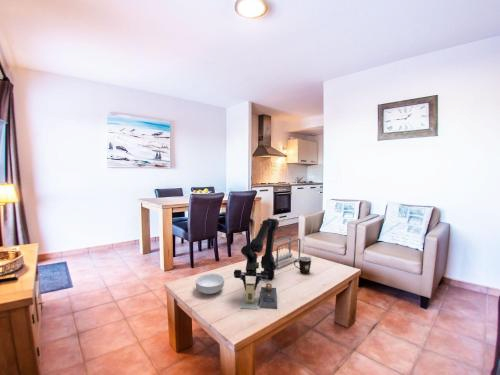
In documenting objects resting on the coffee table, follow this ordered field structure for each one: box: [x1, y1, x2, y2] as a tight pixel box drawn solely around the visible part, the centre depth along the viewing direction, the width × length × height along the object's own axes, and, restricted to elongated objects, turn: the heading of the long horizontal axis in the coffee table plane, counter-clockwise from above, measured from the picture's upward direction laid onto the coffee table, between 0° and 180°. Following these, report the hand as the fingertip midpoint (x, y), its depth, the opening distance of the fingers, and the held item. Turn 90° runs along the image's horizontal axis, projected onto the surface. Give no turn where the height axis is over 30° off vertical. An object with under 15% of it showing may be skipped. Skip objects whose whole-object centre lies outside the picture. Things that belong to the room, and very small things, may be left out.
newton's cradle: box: [273, 235, 301, 270], centre depth 193 cm, size 30×10×18 cm, turn 136°
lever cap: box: [245, 282, 256, 303], centre depth 134 cm, size 3×4×10 cm, turn 86°
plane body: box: [259, 282, 278, 309], centre depth 139 cm, size 18×9×6 cm, turn 176°
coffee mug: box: [293, 256, 312, 276], centre depth 175 cm, size 12×9×10 cm
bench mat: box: [240, 296, 260, 310], centre depth 134 cm, size 11×9×1 cm
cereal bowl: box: [195, 273, 225, 295], centre depth 147 cm, size 17×17×7 cm
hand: (250, 290), depth 132 cm, fingers open, 5 cm apart
